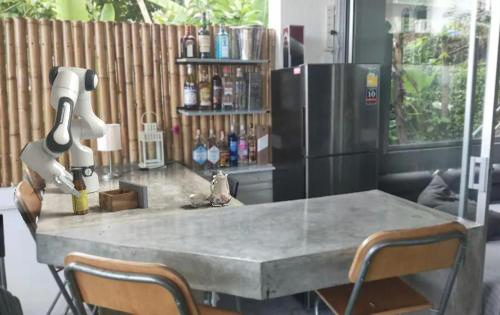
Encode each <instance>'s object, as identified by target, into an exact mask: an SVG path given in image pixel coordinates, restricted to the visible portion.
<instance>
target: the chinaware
mask: <svg viewBox="0 0 500 315" xmlns="http://www.w3.org/2000/svg"><path fill="white" fill-rule="evenodd" d="M228 175H229V174H228V173H225V175H224V173H222V171H221V170H220V169H219V170H218V172H217V173H216V174H215V175H212V178H213V179H212V180H211V182H210V185H209V191H210V193H211V194H210V195H209V197H208V195H207V194H204V193H203V192H201V193H198V194H197V193H191V194H190V195H187V198H188V199H189V202H190V205H191V207H194V208H197V207H198V208H201V207H200V206H202V205H203V204H204V203H205V201H206V198H207V197H208V202H209V203H210V205H211V204H213V205H224V204H228V203H229V204H230V202H231V201H232V196H231V194H230V185H229V182H228Z"/></svg>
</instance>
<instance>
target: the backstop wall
mask: <svg viewBox="0 0 500 315" xmlns="http://www.w3.org/2000/svg"><path fill="white" fill-rule="evenodd" d="M122 188H124V189H128V190H132V191H136V192H137V196H138V207H139V208H141V209H149V198H148V196H149V195H148V186H147V185H143V184H139V183H137V182H131V181H127V180H123V179H121V180H118V189H122ZM138 207H137V208H138Z"/></svg>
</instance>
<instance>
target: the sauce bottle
mask: <svg viewBox="0 0 500 315" xmlns="http://www.w3.org/2000/svg"><path fill="white" fill-rule="evenodd" d="M72 173H73V181H72V183H73V184H74V185H75V186H74V188H75V189H76V190H77V191H78V192H80V193H81V194H82V196H81V197H80V198H78V197H77V196H75V195H73V194H72V193H71V194H70V195H71V200H72V211H73V214H74V215H76V216H77V215H78V216H79V215H81V216H82V215H86V214H88V213H89V201H88V200H89V199H88V193H87V189H86V185H85V182H84V180H83V178H82V168H73V169H72Z"/></svg>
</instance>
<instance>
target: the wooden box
mask: <svg viewBox="0 0 500 315" xmlns="http://www.w3.org/2000/svg"><path fill="white" fill-rule="evenodd" d="M98 205H99V206H98V207H99V208H100V209H104V210H106V211H108V212H112V213H115V212H120V211H121V212H122V211H125V210H129V209H130V210H131V209H135V208H138V196H137V192H136V191H132V190H128V189H124V188H122V189H119V188H117V189H110V190H105V191H99V192H98Z"/></svg>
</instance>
